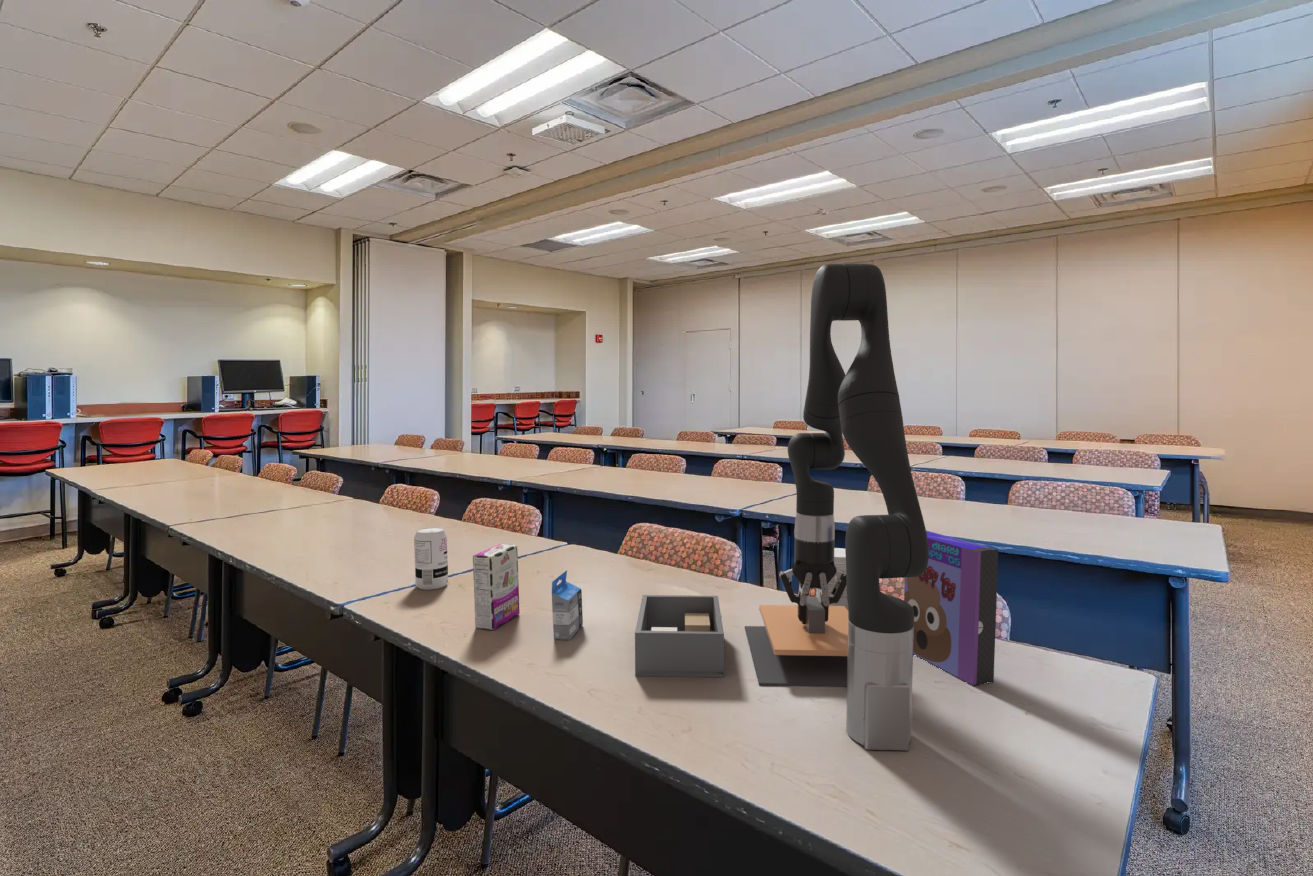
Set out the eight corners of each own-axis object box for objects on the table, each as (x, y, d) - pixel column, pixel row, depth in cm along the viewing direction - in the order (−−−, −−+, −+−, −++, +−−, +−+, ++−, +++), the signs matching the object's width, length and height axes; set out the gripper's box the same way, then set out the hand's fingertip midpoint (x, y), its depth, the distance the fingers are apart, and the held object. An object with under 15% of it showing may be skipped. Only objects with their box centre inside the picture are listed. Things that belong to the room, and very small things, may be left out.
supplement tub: (868, 617, 150) (869, 553, 149) (839, 625, 145) (840, 559, 144) (835, 605, 158) (836, 545, 157) (807, 613, 153) (807, 550, 152)
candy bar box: (501, 612, 154) (499, 543, 153) (520, 614, 152) (518, 544, 151) (473, 628, 144) (471, 554, 142) (493, 631, 142) (491, 556, 141)
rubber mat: (897, 687, 115) (897, 685, 115) (759, 685, 116) (759, 683, 116) (856, 629, 143) (856, 627, 143) (744, 627, 144) (744, 626, 144)
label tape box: (570, 640, 137) (569, 582, 136) (551, 639, 137) (550, 581, 136) (583, 625, 145) (582, 571, 144) (565, 624, 146) (565, 570, 145)
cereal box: (902, 649, 131) (905, 530, 130) (921, 646, 133) (925, 529, 131) (972, 686, 115) (977, 551, 113) (993, 682, 117) (998, 548, 115)
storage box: (717, 632, 141) (717, 595, 140) (723, 677, 119) (723, 633, 118) (642, 631, 142) (642, 595, 141) (635, 675, 120) (634, 632, 119)
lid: (844, 615, 141) (844, 585, 140) (876, 662, 117) (877, 626, 116) (759, 614, 141) (759, 584, 141) (774, 660, 118) (774, 624, 117)
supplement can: (414, 583, 177) (412, 528, 176) (446, 580, 180) (444, 525, 179) (417, 592, 170) (415, 534, 168) (450, 588, 173) (449, 531, 172)
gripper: (780, 540, 124) (779, 629, 125) (856, 540, 123) (854, 630, 125) (775, 531, 131) (774, 616, 133) (846, 532, 131) (844, 617, 132)
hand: (812, 622), depth 129 cm, fingers closed on lid, 3 cm apart
